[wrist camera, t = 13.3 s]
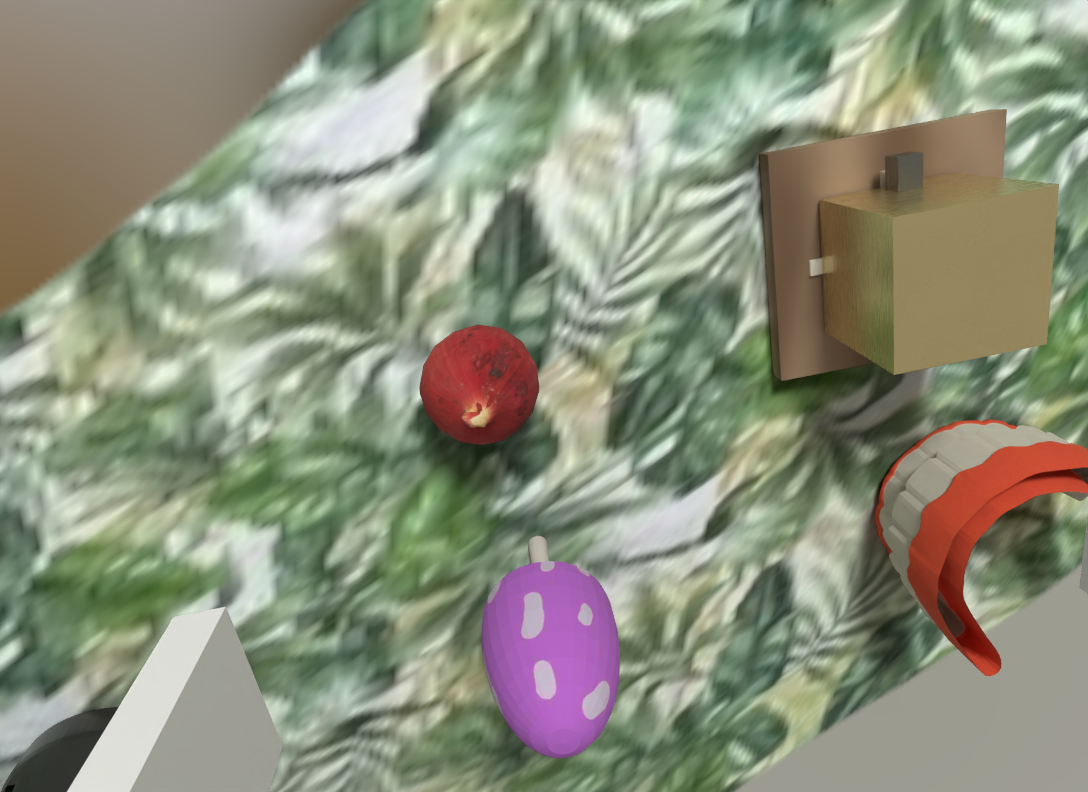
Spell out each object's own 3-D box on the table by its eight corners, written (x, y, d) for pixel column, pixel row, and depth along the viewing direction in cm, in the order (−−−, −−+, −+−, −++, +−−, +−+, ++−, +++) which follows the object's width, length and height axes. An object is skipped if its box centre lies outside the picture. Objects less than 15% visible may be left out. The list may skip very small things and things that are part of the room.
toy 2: (986, 356, 42) (1095, 408, 35) (1071, 468, 45) (1187, 537, 38) (814, 496, 44) (882, 572, 37) (906, 593, 48) (985, 681, 40)
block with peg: (818, 166, 36) (892, 177, 29) (956, 139, 36) (1061, 144, 29) (826, 359, 40) (894, 407, 33) (951, 334, 40) (1044, 377, 33)
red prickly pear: (463, 288, 38) (458, 330, 31) (553, 345, 40) (571, 398, 32) (406, 377, 40) (389, 437, 32) (495, 429, 41) (499, 498, 34)
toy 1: (605, 507, 43) (665, 692, 29) (575, 599, 46) (617, 811, 32) (496, 485, 42) (504, 666, 28) (470, 580, 44) (466, 792, 31)
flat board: (773, 373, 41) (820, 415, 35) (759, 153, 37) (811, 160, 31) (979, 333, 41) (1061, 368, 36) (990, 109, 37) (1085, 108, 31)
